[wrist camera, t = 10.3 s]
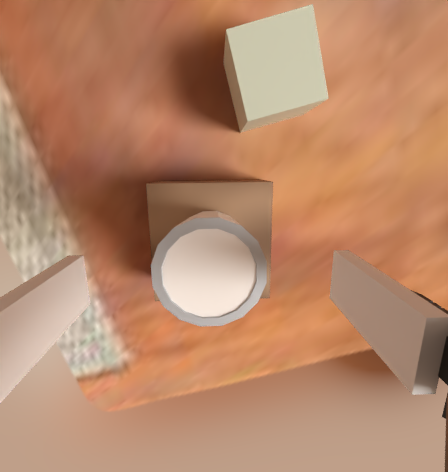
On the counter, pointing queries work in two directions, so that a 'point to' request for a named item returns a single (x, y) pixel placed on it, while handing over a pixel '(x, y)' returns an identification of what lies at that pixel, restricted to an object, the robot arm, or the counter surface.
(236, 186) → the walnut block
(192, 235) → the shot glass
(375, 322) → the robot arm
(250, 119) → the sage block
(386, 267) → the counter surface
